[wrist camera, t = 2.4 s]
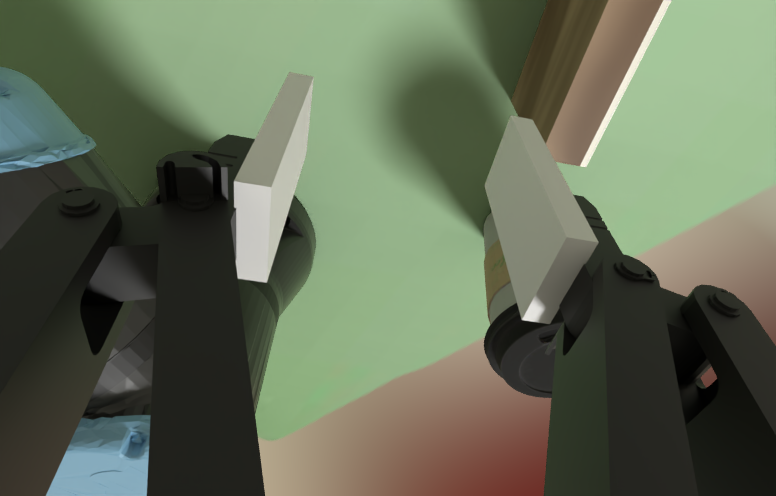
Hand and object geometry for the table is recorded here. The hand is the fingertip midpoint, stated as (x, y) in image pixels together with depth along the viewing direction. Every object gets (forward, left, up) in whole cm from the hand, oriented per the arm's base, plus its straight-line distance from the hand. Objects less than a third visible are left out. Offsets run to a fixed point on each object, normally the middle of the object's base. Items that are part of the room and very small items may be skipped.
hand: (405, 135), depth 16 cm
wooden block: (+11, 0, -20) cm, 23 cm away
